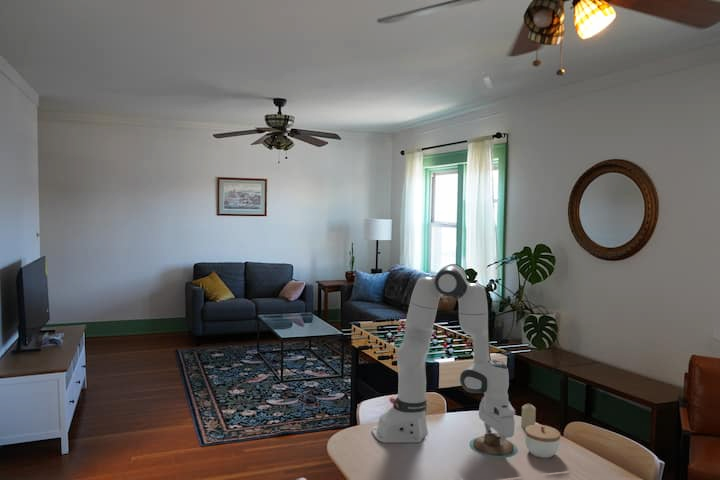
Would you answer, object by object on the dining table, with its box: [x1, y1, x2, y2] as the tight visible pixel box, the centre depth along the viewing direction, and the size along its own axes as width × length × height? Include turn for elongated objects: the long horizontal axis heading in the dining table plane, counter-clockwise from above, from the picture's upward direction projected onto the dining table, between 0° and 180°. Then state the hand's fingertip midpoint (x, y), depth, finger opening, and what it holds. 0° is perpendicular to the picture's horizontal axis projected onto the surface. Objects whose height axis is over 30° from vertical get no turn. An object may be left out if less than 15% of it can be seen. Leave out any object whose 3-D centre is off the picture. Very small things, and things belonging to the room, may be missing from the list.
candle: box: [520, 403, 537, 429], centre depth 233 cm, size 6×6×10 cm
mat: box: [469, 437, 519, 459], centre depth 213 cm, size 18×18×1 cm
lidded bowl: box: [524, 424, 561, 459], centre depth 209 cm, size 13×13×11 cm
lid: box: [473, 432, 515, 456], centre depth 213 cm, size 15×15×4 cm
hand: (494, 439), depth 213 cm, fingers open, 8 cm apart
